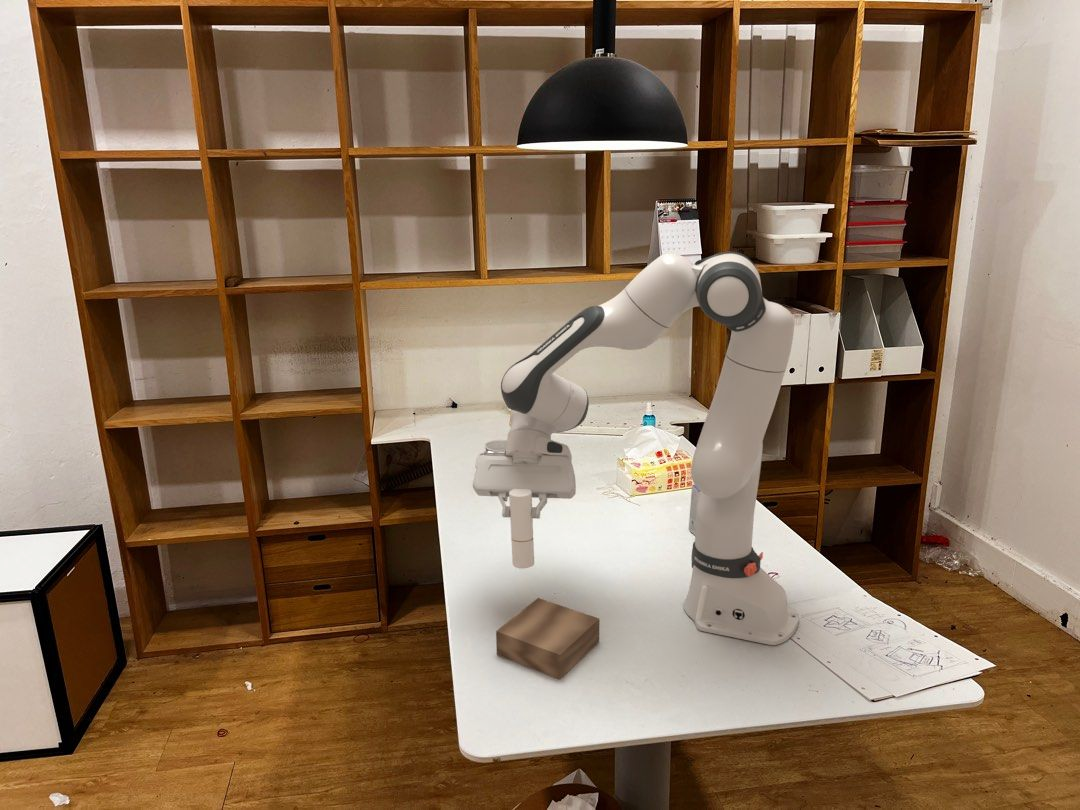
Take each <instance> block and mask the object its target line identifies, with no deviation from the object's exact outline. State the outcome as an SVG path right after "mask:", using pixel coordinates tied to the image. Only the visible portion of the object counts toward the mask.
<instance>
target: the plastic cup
mask: <svg viewBox="0 0 1080 810" xmlns="http://www.w3.org/2000/svg"><path fill="white" fill-rule="evenodd" d="M483 447H484V449H485V451H506V447H507V439H494V440H493V439H492V440H489V441H486V442H484V444H483Z"/></svg>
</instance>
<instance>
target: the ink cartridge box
mask: <svg viewBox="0 0 1080 810" xmlns="http://www.w3.org/2000/svg"><path fill="white" fill-rule="evenodd" d="M699 494H700V490H699V489H698V488H697V487H696V486H695V484H691V495H690V507H689V508H690V509H689V520H688V530H689V531H690V532H691V533H692V534H693V535H694V536H695V531H696V510H697V504H698V500H699Z"/></svg>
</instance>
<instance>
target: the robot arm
mask: <svg viewBox="0 0 1080 810" xmlns="http://www.w3.org/2000/svg"><path fill="white" fill-rule="evenodd" d="M761 282H762V281H761V276H760V273H759V271H758V269H757V267H756V265H755V263H754V261H752V259H750V258H749V257H748V256H746V255H744V254H743V253H740V252H738V251H736V252H735V251H723V252H718V253H715V254H714V255H710V256H708V257H705V258H702V259H698V260H697V261H695V262H694V263H693V262H691V261H690V259H689V260H688V259H687V258H686V257H685V256H683V255H680V254H678V253H673V252H667V253H664V254H661V255H660V256H658V257H657V258H656V259H655V260H654V259H653V261H651V262H650V263H649V264H648V265H647V266H645V268H643V269H642V270H640V272H638V274H637V275H636V276H635V277H634V278H633V279H632V280H631V281H630V282H629V283H628V284H627V285H626V286H625V288H623V289H622V291H621V292H619V293H618V294H616V296H614V297H612V298H611V299H609V300H608V301H605V302H604V303H601V304H599V305H593V306H591V305H590V306H588V307H586V308H585V309H583V310H581V311H580V312H579V313H577V314H576V315H575V316H574V317H572V318H571V319H569V320H568V322H566V323H565V324H564V325H563V326H561V327H560V328H559V329H558V330H557V331H555V333H553V334H552V335H551V336H550V337H548V338H547V339H546V340H545V341H544V342H543V343H542V344H541V345H539V346H538V347H537V348H535V350H533V351H532V352H531V353H530V354H528V355H527V356H525V357H523V358H521V359H519V360H518V361H516V362H515V363H514V364H512V365H511V366H510V367H509V368H508V369H507V370H506V371H505V372H504V374H503V376H502V379H501V382H500V391H501V397H502V399H503V401H504V404H505V405H506V407H507V408H508V409H509V410H510V414H509V415H510V416H509V422H510V428H509V431H508V434H507V439H506V440H507V447H506V451H486V450H485V451H483V452H482V453H480V454H478V455H477V456H476V459H475V465H474V466H475V469H476V470H475V472H474V475H473V476H474V477H473V480H472V489H473V491H474V492H475V493H476V495H478V496H480V497H497V498H498V499H499V502H500V504H501V506H502V511H501V514H502V515H501V516H502V517H503V518H508V519H509V518H510V505H509V506H508V505H507V504H506V503H505V502H507V501H508V499H509V492H510V491H511V490H513V489H529V490H531V492H532V499H533V498H535V499H536V498H537V499H538V500H539V502H538V503H537V505H536V506H532V512H531V517H532V518H533V519H537V520H538V519H540V518H541V512H542V511H543V509H544V508H545V506H546V505H547V503H548V499H563V500H565V499H566V500H567V499H568V500H569V499H573V498H574V496H575V495H576V491H577V490H576V489H577V486H576V483H577V481H576V474H575V470H574V469H575V468H574V466H573V461H572V459H573V458H572V457H573V456H572V453H571V450H570V448H569V445H567V444H564V443H563V442H558V441H556V440H552V435H553V434H554V433H564V432H566V431H570V430H574V429H575V428H577V427H579V426H581V424H583V422H584V421H585V419H586V418H587V415H588V411H589V407H590V405H589V404H590V401H589V395H588V393H587V390H586V389H585V388H584V387H581V386H580V385H579V384H577V383H575V382H573V381H571V380H569V379H568V378H566V377H562V376H560V375H558V374H557V373H555V372H556V371H557V370H558V369H559V368H561V367H562V366H563V365H565V363H567V362H568V361H569V360H570V359H572V358H573V357H574V356H575V355H576V354H578V353H579V352H580V351H582V350H586V349H589V348H598V347H605V348H614V349H620V350H624V351H625V350H627V351H631V350H632V351H635V350H641V349H645V348H647V347H650V346H652V345H653V344H654V343H655V342H656V341H658V340H659V339H660V338H661V337H662V336H663V335H664V334H665V333H666V332H667V331H668V330H669V328H670V327H672V326H673V324H675V322H676V321H677V320H678V319H679V318H680V317H681V315H683V314H684V313H685V312H687V311H688V310H690V309H692V308H695V307H700V308H701V310H702V312H703V313H704V314H705V315H706V316H707V317H708V318H710V319H711V320H713V321H714V322H716V323H719V324H721V325H722V326H723V327H725V328H728V329H729V330H730V331H731V334H730V338H729V339H730V340H729V343H728V346H727V350H726V353H725V357H724V359H723V364H722V367H721V371H720V375H719V379H718V381H717V385H716V389H715V393H714V396H713V397H712V401H711V402H710V403H711V404H710V406H709V408H708V411H707V415H706V417H705V420H704V422H703V426H702V428H701V432H700V435H699V438H698V440H697V444H696V446H695V450H694V454H693V456H692V457H693V458H692V461H691V467H690V475H691V479H692V482H693V485H695V486H696V487H697V488H698V489H699V490H700V494H699V500H698V504H697V510H696V531H695V535H694V536H695V537H694V541H693V543H692V548H691V569H692V572H691V578H690V583H689V588H688V591H687V594H686V597H685V599H684V603H683V609H684V612H685V613H686V614H687V616H688V617H689V618H690V619H692V620H693V622H694V624H695V627H696V629H697V630H699V631H701V632H706V633H711V634H714V635H719V636H725V637H730V638H734V639H739V640H740V639H741V640H744V641H747V642H749V641H750V642H755V643H759V644H764V645H769V646H777V645H781V644H783V643H785V642H786V641H788V640H789V639H790V638H791V637H792V636H793V635H794V633H795V632H796V631H797V629H798V628H799V627H798V626H799V623H800V622H799V621H800V620H799V619H800V618H799V613H798V611H797V610H796V609H795V608H793V607H792V606H789V605H788V597H787V594H786V590H785V588H784V587H783V586H782V585H781V584H780V583H778V581H776V580H775V579H774V578H773V577H771V576H770V574H768V573H767V572H766V571H765V570H764V569H763V568H762V567H761V562H762V560H763V557H764V556H763V555H764V552H763V551H761V552H760V553H759V554H757V553H756V551H755V549H754V548H753V533H754V532H753V531H754V517H755V509H756V502H757V497H758V495H757V494H758V488H759V484H760V483H759V481H760V476H761V467H762V456H763V450H764V449H763V445H764V444H763V441H764V438H765V435H766V431H767V429H768V426H769V423H770V421H771V418H772V415H773V412H774V409H775V406H776V402H777V399H778V396H779V394H780V390H781V387H782V383H783V379H784V377H785V373H786V371H787V367H788V363H789V359H790V355H791V352H792V347H793V340H794V332H795V319H794V316H793V314H792V312H791V311H789V309H787V307H785V306H783V305H781V304H780V303H777V302H775V301H774V302H773V301H769V300H768V299H766V298H765V297H764V296H763V289H762V284H761Z"/></svg>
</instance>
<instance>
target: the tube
mask: <svg viewBox="0 0 1080 810" xmlns="http://www.w3.org/2000/svg"><path fill="white" fill-rule="evenodd" d="M508 499H509V506H510V519H509V520H510V536H511V538H510V540H511V558H512V559H511V560H512V561H511V563H512V566H513V567H515V568H516V569H529V568H531V567H534V565H535V547H534V546H535V544H534V524H533V523H534V520H533V519H534V518H532V517H531V512H532V507H533V498H532V492H531V490H529V489H513V490H511V491H510V492H509V497H508Z"/></svg>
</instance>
